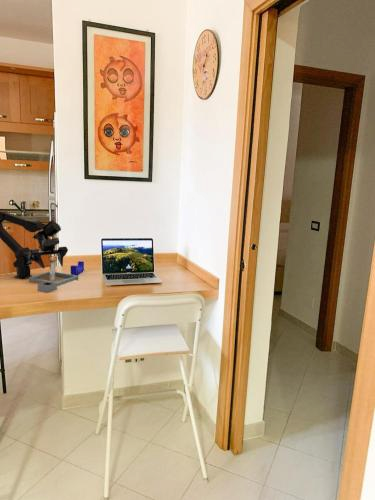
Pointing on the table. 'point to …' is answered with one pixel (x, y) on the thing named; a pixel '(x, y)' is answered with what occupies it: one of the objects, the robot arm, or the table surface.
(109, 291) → the table surface
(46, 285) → the lock block
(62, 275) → the tray
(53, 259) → the lock pin
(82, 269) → the cable clip
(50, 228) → the robot arm
